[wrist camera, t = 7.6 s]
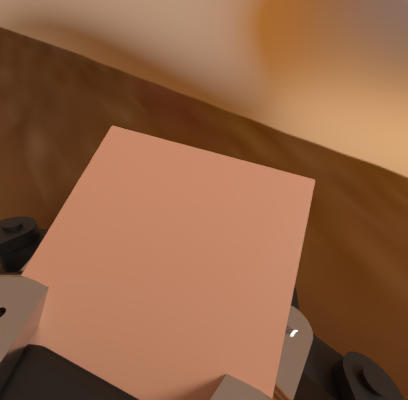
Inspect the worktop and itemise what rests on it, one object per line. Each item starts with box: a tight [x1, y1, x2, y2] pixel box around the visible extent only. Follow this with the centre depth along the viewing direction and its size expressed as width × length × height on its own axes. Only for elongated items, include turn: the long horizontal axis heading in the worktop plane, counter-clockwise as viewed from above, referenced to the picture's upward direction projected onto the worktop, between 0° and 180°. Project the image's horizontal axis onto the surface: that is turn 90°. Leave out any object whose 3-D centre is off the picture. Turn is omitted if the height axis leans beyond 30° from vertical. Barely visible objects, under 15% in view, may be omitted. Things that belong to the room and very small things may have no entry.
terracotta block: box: [21, 126, 315, 400], centre depth 9 cm, size 6×6×10 cm
